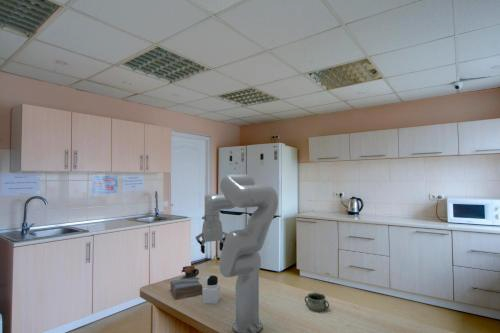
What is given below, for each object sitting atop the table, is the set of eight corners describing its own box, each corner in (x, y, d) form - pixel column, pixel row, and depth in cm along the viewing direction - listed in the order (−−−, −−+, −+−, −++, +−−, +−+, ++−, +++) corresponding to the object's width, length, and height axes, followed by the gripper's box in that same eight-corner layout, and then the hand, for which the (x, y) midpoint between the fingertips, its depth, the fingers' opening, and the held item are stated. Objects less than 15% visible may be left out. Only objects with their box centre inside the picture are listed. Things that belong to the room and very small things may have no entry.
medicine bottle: (220, 297, 146) (220, 274, 147) (217, 304, 139) (217, 279, 140) (206, 297, 147) (206, 274, 147) (203, 303, 140) (202, 279, 140)
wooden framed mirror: (202, 294, 151) (202, 284, 151) (175, 299, 145) (175, 289, 145) (195, 285, 163) (195, 276, 163) (170, 289, 157) (170, 280, 157)
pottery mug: (177, 280, 170) (178, 266, 175) (185, 282, 178) (186, 269, 182) (195, 278, 168) (196, 263, 172) (203, 280, 175) (203, 266, 180)
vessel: (301, 310, 132) (300, 296, 133) (308, 302, 140) (307, 290, 140) (326, 316, 126) (326, 302, 126) (332, 308, 133) (332, 295, 134)
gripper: (197, 220, 139) (197, 255, 139) (230, 217, 147) (230, 251, 146) (193, 218, 146) (193, 252, 145) (225, 216, 153) (225, 248, 153)
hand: (212, 251), depth 146 cm, fingers open, 9 cm apart
